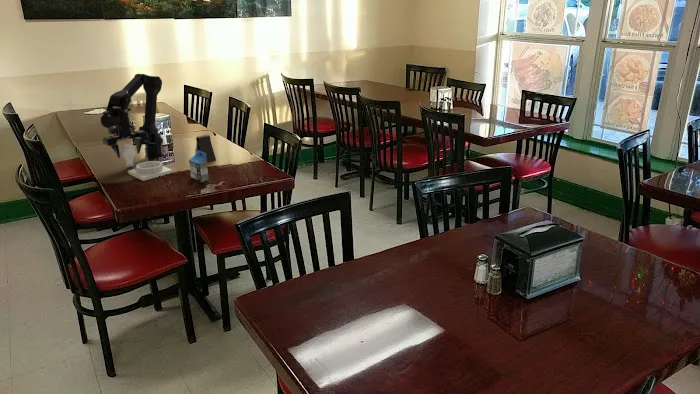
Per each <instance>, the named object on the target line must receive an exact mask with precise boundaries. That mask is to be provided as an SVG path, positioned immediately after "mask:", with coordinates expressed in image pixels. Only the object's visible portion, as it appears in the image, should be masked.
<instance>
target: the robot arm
mask: <svg viewBox="0 0 700 394" xmlns="http://www.w3.org/2000/svg"><path fill="white" fill-rule="evenodd" d="M162 85H163V80H162V79H161V77H160V76H158V75H155V76H154V75H148V74H145V73H136V74H134V77H133V78H132V79H131V80H130V81H129V82H127V84H126V85H125V86H124V87H123V88H122V89H121V90H119V91H115V92H114V93H113V94H111V95H110V96H109V99H108V102H107V105H106V106H107V107H106V111H103V112H102V116H101V117H100V124H101V125H102V126H103V127H104V128H106V129H107V132H108V136H104V137H103V138H102V144H103V145H105V146H109V147H111V149H112V150H113V152H114V153H115V155H116V157H117V158H118V159H120V158H121V153H120V148H119V144H118V142H120V141H125V140H126V141H127V140H131V139H134V141H135V150H136V154H140V151H141V149H142V146H143V145H144V147H145V148H144V151H145V155H144V156H145V157H146V158H149V159H154V158H160V157H162V156H163V157H164V154H162V148H161V145H162V144H163V143H164V139H163V138H162V137H161V136H160V135H159V130H158V128H157V126H156V119H157V118H156V117H157V116H156V115H157V102H158V95H159V94H160V92H161V90H162ZM141 87H142V89H143V90H144V92H145V107H144V118H143V119H144V120H143V125H142V126H139V127H138V130H136V131H134V132H132V127H133V125H132V124H131V121H130V115H129V112H131V111H132V109H131V108H130V107H129V106H130V104H131V102H132V97H133V96H134V95H135V94H136V93H137V92H138V91H139V90H140V89H141ZM109 135H110V136H109ZM112 135H113V136H112Z"/></svg>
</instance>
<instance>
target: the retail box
mask: <svg viewBox="0 0 700 394" xmlns="http://www.w3.org/2000/svg"><path fill="white" fill-rule="evenodd" d="M194 150H195V154H194V155H193V156H192V157H190V158H189V159H188V163H189V164H188V165H189V170H190V178H191V179H194V180H196V181H199V182H200V183H204V182H205V183H206V182H209V171H208V162H207V160H206V153H204V152H202V151H199V150H196V148H195V149H194ZM199 153H201V154H202V155H200V154H199Z"/></svg>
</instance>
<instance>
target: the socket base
mask: <svg viewBox="0 0 700 394" xmlns="http://www.w3.org/2000/svg"><path fill="white" fill-rule="evenodd" d="M170 173H171V174H173V169H171V168H169V167H166V166H164V165H163V162H161V161H159V160H150V161H149V160H148V161H144V162H143V161H142V162H139V163H138V164H136V165H135V168H132V169H129V170H127V174H129V175H130V176H132V177H133V178H136V179H138V180H140V181H142V182H144V181H147V180H152V179H155V178H159V176H160V177H163V176H166V174H167V175H171V174H170Z"/></svg>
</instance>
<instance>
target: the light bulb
mask: <svg viewBox="0 0 700 394" xmlns="http://www.w3.org/2000/svg"><path fill="white" fill-rule="evenodd" d="M119 153H120V156H121V157H122V158H123V159H124V161H125V163H126V166H127V167H128V168H132V167H134V160H135V159H134V158H135V156H136V154H137V149H136V147H135V146H134V145H132V144H129V143H127V144H124V145H122V146H121V147H120V148H119Z"/></svg>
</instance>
